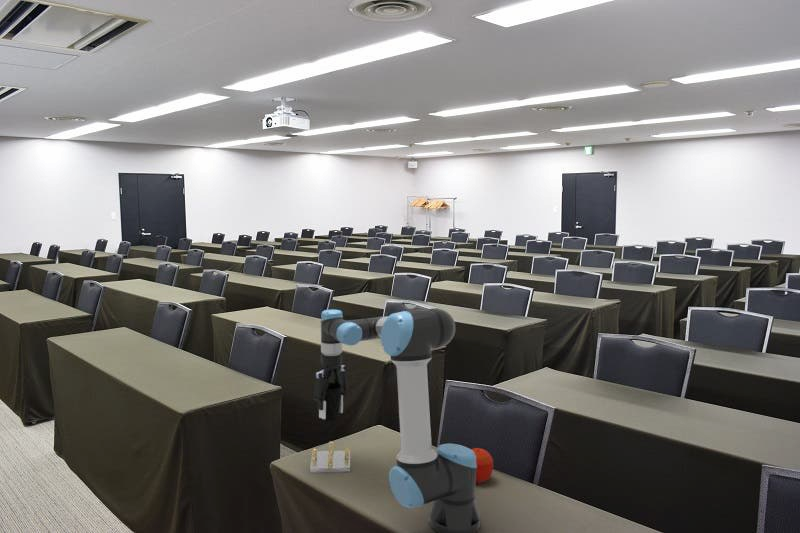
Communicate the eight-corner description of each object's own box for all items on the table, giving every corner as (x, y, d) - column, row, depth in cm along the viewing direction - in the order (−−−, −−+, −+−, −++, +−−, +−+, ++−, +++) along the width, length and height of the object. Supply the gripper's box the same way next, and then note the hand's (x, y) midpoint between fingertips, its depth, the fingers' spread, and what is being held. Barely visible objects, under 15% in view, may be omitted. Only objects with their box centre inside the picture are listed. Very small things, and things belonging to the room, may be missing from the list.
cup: (316, 420, 200) (316, 387, 199) (325, 412, 208) (325, 381, 206) (336, 423, 198) (336, 390, 197) (344, 415, 205) (345, 383, 204)
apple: (497, 478, 196) (498, 446, 195) (484, 490, 187) (486, 456, 186) (470, 470, 201) (472, 439, 200) (457, 481, 193) (458, 449, 192)
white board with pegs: (350, 471, 198) (350, 456, 198) (310, 472, 197) (310, 457, 196) (350, 454, 212) (350, 440, 212) (312, 455, 211) (312, 441, 210)
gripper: (344, 346, 210) (344, 405, 213) (302, 356, 195) (302, 420, 197) (359, 349, 206) (358, 409, 208) (316, 360, 190) (316, 425, 192)
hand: (331, 414), depth 203 cm, fingers closed on cup, 8 cm apart
